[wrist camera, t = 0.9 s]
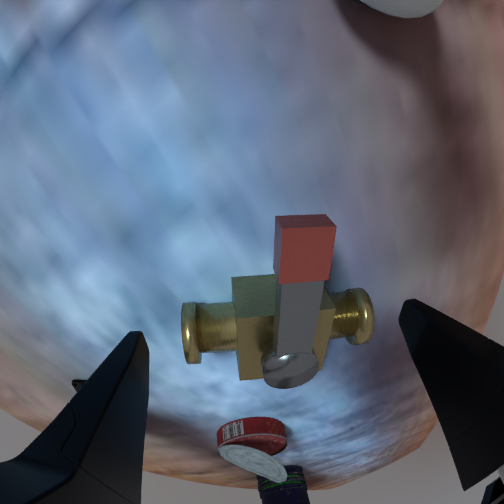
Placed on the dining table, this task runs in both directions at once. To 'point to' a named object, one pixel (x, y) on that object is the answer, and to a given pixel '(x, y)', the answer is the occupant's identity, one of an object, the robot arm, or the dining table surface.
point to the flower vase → (404, 7)
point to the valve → (268, 323)
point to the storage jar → (284, 488)
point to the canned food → (254, 445)
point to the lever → (297, 297)
